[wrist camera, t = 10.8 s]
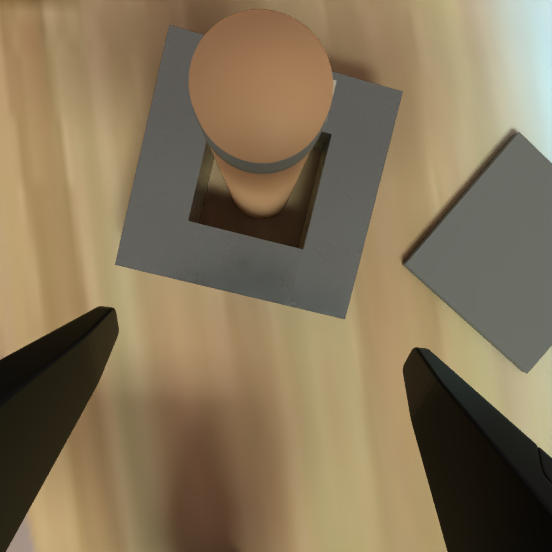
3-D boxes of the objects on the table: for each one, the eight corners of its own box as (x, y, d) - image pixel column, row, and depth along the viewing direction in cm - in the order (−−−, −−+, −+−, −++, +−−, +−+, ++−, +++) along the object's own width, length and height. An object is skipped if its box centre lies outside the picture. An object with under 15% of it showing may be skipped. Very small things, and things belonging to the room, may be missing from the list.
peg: (299, 206, 22) (356, 129, 9) (243, 228, 22) (219, 180, 9) (277, 149, 22) (304, -14, 9) (221, 171, 22) (163, 37, 9)
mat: (521, 371, 23) (527, 373, 23) (402, 264, 23) (405, 264, 22) (629, 246, 23) (637, 246, 23) (513, 135, 22) (519, 132, 22)
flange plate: (333, 311, 22) (345, 319, 19) (135, 264, 22) (113, 264, 18) (383, 114, 22) (404, 89, 19) (182, 58, 21) (168, 22, 18)
